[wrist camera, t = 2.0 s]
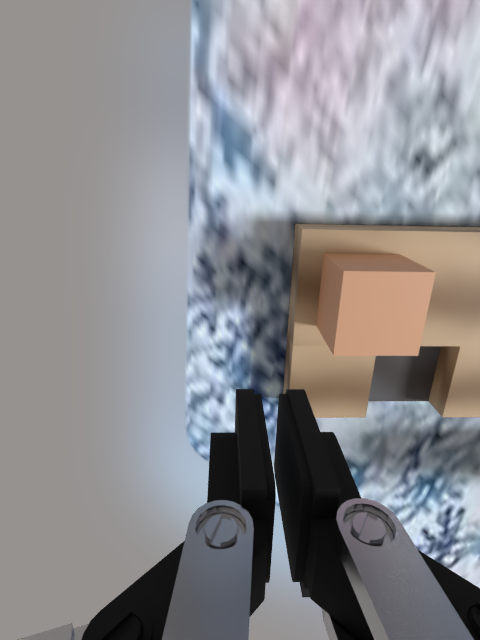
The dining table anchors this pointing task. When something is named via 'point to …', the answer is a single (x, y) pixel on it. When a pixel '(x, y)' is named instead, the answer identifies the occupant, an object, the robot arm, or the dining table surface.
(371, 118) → the dining table surface
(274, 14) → the dining table surface
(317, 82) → the dining table surface
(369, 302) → the orange block
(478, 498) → the dining table surface
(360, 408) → the board
